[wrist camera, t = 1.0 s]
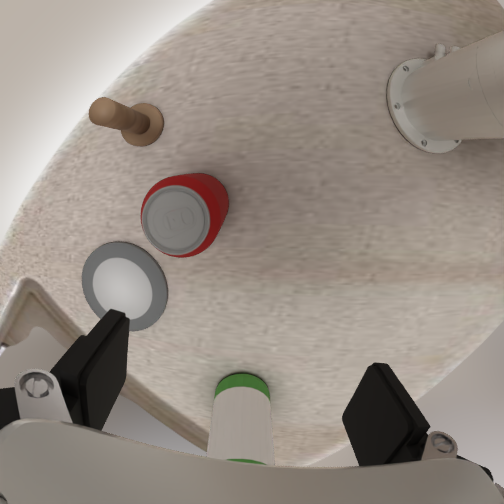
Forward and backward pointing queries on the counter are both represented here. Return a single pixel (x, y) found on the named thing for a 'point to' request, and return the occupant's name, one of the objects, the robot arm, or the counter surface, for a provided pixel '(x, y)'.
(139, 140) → the stand post
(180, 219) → the beverage can
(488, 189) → the counter surface
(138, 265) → the pad
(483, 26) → the counter surface
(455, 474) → the robot arm
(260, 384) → the wine bottle
